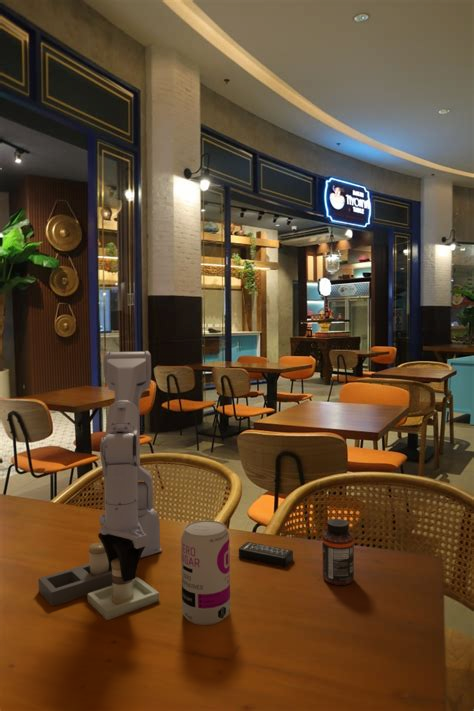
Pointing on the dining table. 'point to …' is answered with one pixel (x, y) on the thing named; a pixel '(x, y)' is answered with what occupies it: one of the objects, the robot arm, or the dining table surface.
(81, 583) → the block
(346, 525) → the supplement bottle
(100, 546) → the cylinder
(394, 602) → the dining table surface
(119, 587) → the fuse
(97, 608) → the parts tray
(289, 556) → the multiport hub
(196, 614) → the supplement can
